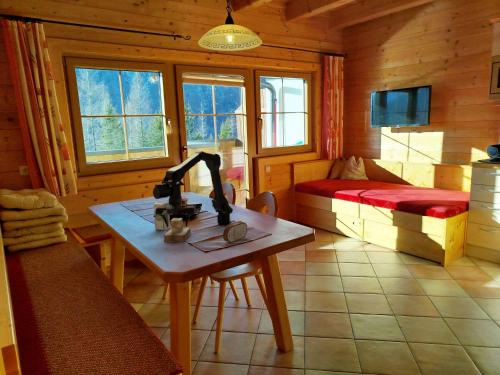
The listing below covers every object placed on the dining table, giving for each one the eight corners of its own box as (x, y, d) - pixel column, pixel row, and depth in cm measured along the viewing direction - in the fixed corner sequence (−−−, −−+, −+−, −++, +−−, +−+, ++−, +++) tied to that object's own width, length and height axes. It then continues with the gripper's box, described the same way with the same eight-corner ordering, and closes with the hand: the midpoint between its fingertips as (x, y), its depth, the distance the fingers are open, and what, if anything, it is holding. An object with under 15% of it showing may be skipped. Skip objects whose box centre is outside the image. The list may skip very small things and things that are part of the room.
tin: (243, 235, 169) (243, 218, 167) (248, 236, 167) (248, 219, 165) (222, 243, 158) (221, 226, 156) (227, 245, 156) (227, 227, 154)
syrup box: (170, 227, 185) (168, 201, 182) (164, 230, 179) (162, 203, 177) (161, 227, 187) (159, 201, 184) (155, 230, 181) (153, 203, 179)
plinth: (190, 233, 173) (190, 227, 173) (185, 241, 162) (184, 235, 161) (171, 234, 174) (170, 227, 173) (164, 241, 162) (163, 235, 162)
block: (183, 229, 169) (182, 218, 168) (180, 232, 165) (180, 220, 164) (174, 229, 170) (173, 218, 168) (171, 232, 165) (170, 220, 164)
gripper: (150, 199, 157) (152, 232, 159) (190, 198, 156) (192, 231, 158) (158, 194, 168) (160, 225, 170) (195, 194, 167) (197, 224, 169)
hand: (177, 226), depth 167 cm, fingers open, 9 cm apart
